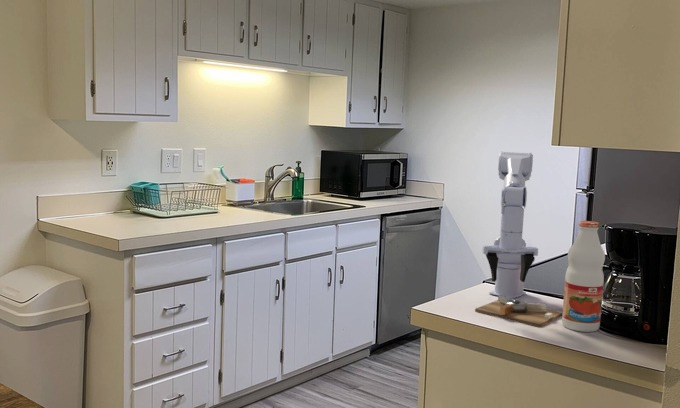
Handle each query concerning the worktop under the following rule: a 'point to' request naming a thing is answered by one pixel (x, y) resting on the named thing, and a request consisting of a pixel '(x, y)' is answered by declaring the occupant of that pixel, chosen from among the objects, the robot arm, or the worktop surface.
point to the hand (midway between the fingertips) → (508, 280)
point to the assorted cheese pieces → (518, 306)
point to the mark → (548, 315)
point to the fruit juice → (584, 280)
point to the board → (519, 314)
